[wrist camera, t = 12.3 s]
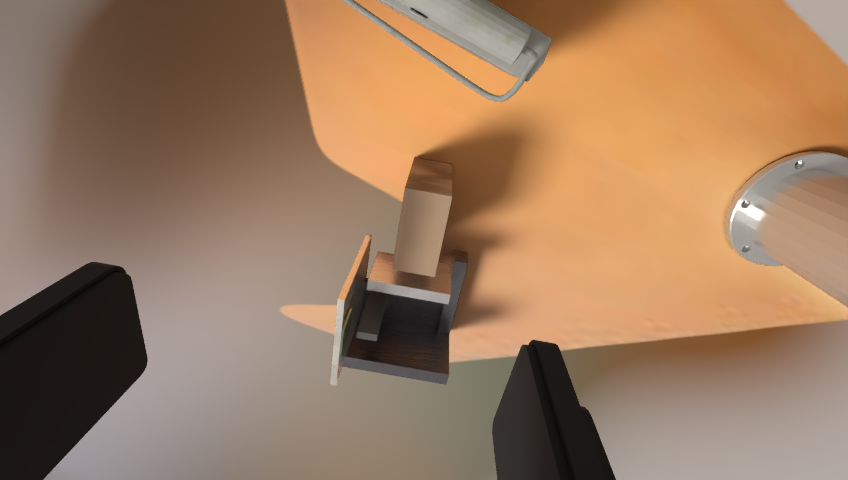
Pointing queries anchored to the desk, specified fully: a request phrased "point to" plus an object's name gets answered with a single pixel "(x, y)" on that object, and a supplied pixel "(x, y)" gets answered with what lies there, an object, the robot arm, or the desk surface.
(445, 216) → the push block
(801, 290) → the desk surface
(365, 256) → the stand
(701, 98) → the desk surface
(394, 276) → the plate
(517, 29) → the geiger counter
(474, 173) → the desk surface
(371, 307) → the dark flat plank
